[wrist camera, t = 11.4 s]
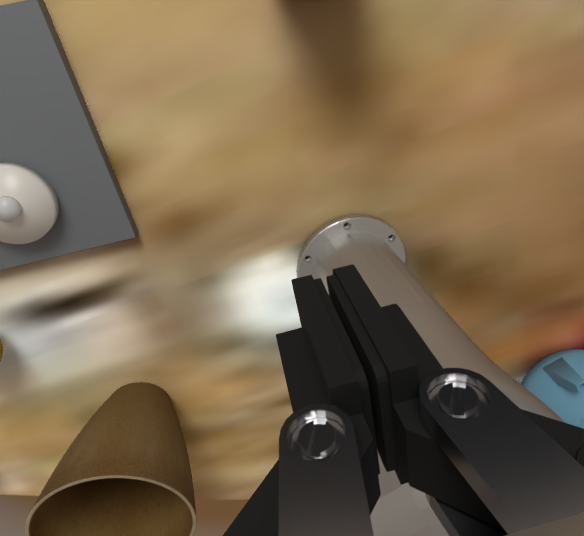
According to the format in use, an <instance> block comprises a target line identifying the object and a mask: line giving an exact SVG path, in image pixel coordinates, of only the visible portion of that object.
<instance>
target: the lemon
mask: <svg viewBox="0 0 584 536" xmlns="http://www.w3.org/2000/svg"><path fill="white" fill-rule="evenodd" d="M2 353H3V346H2V342H1V340H0V361H1V358H2Z"/></svg>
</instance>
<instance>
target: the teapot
mask: <svg viewBox="0 0 584 536" xmlns="http://www.w3.org/2000/svg"><path fill="white" fill-rule="evenodd" d="M521 385H522V386H524V387H525V388H526V389H527V390H529V391H530V392H531V393H533V394H534V395H535V396H536V397H538V398H539V399H540V400H541V401H543V402H544V403H545V404H546V405H547V406H548V407H550V408H551V409H552V410H553V411H554V412H555V413H556V414H557V415H558V416H559V417H561V418H562V419H563V420H564V421H565V422H566V423H568V424H571V425H574V426H577V427H580V428H584V350H578V349H575V350H563V351H559V352H556V353H554V354H552V355H549V356H548V357H546V358H544V359H542V360H541V361H540V362H538V363H537V364H536V365H535V366H534V367H532V368H531V370H530V371H529V372H528V373H527V374H526V376H525V377H524V379H523V381H522V384H521Z"/></svg>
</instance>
